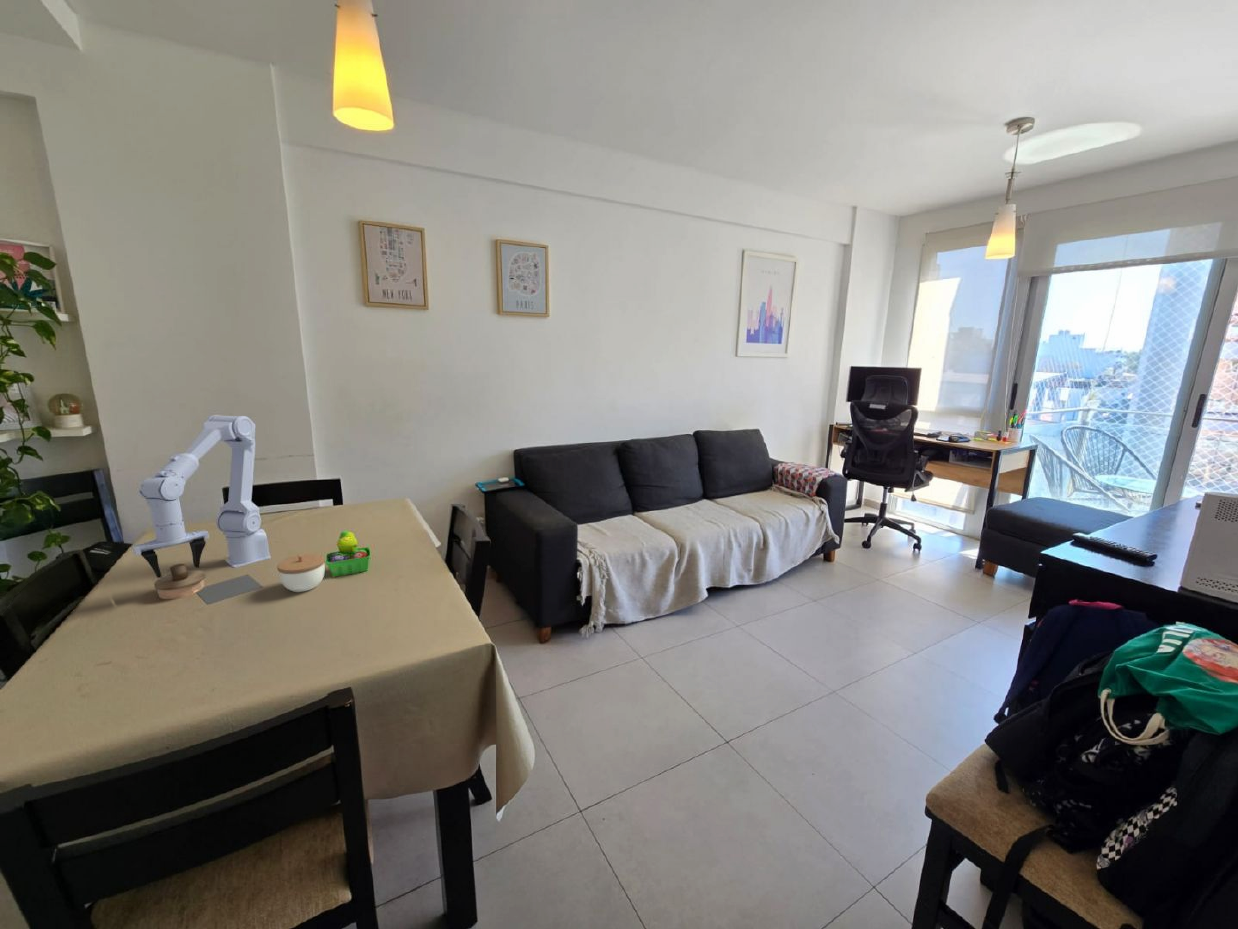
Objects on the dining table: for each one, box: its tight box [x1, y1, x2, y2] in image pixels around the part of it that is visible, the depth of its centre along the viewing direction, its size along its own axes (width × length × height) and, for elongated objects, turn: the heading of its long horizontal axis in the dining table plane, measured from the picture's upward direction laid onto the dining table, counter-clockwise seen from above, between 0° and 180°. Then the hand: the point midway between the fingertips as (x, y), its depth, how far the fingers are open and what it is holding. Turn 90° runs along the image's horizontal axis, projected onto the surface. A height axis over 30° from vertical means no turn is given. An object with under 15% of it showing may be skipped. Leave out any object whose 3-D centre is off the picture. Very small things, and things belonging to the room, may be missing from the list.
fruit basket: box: [325, 530, 372, 578], centre depth 144 cm, size 11×9×11 cm
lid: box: [153, 563, 206, 591], centre depth 129 cm, size 10×10×4 cm
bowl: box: [156, 578, 205, 600], centre depth 130 cm, size 9×9×3 cm
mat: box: [195, 573, 264, 605], centre depth 132 cm, size 12×12×1 cm
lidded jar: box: [276, 553, 326, 593], centre depth 133 cm, size 11×11×9 cm
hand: (178, 571), depth 129 cm, fingers open, 7 cm apart
